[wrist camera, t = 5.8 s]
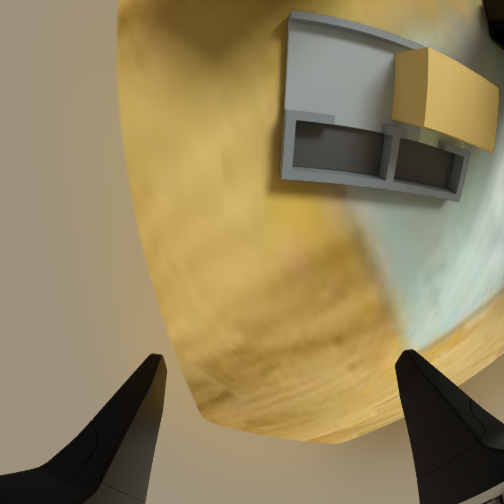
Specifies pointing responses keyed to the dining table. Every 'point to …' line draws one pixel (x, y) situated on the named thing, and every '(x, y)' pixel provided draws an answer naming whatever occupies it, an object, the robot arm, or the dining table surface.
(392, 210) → the dining table surface
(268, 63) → the dining table surface
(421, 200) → the dining table surface
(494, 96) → the ochre block
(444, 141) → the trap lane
